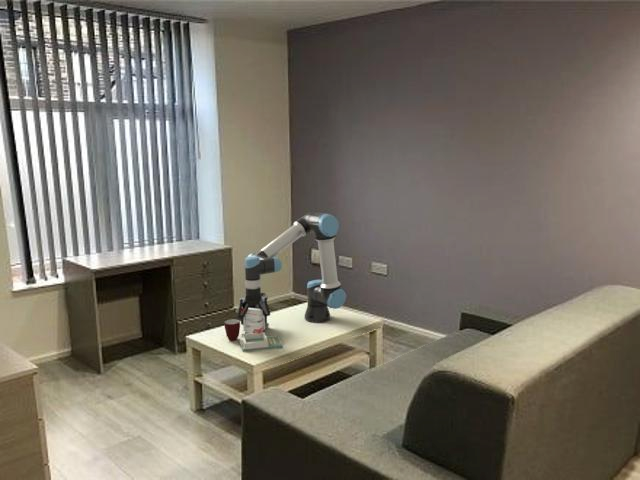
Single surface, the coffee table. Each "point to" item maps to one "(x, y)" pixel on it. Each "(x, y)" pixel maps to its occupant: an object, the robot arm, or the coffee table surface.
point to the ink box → (254, 321)
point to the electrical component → (257, 307)
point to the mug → (232, 329)
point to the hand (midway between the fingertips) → (254, 329)
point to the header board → (259, 342)
